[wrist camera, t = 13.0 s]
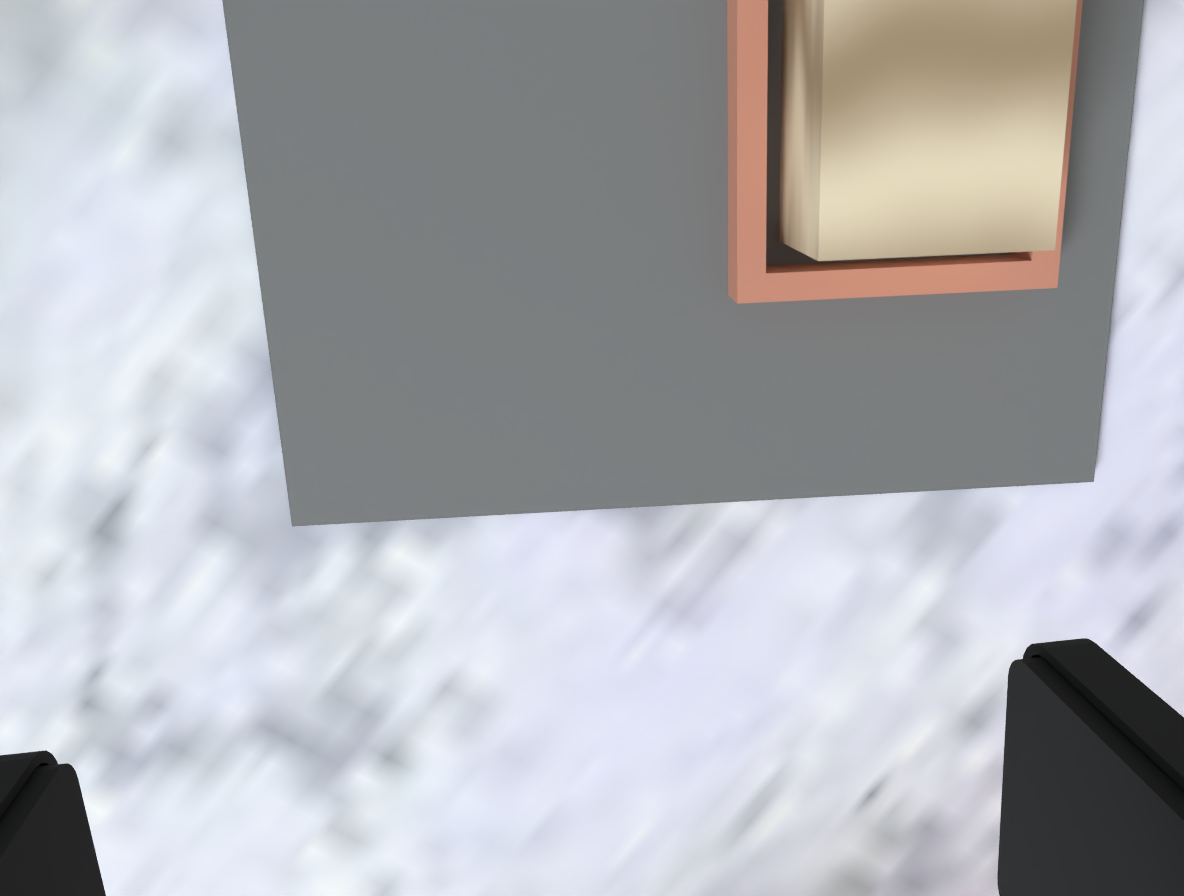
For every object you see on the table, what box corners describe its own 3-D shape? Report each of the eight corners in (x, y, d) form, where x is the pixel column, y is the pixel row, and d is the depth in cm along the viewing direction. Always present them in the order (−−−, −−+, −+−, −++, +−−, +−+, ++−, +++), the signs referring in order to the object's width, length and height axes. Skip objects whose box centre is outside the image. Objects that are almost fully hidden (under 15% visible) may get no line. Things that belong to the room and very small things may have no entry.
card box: (784, -146, 28) (829, -194, 24) (1010, -153, 28) (1094, -201, 24) (779, 241, 31) (818, 261, 27) (983, 231, 31) (1055, 250, 27)
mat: (295, 521, 33) (281, 545, 31) (198, -213, 27) (174, -237, 25) (1087, 477, 34) (1118, 497, 32) (1161, -243, 28) (1204, -268, 26)
